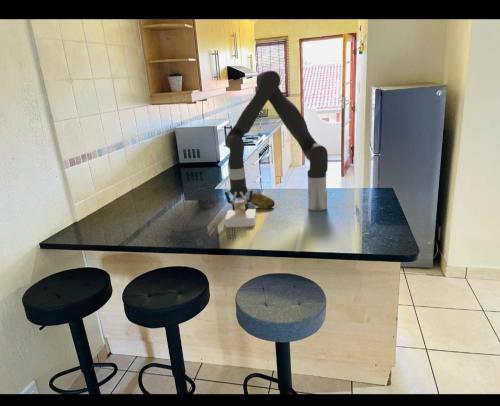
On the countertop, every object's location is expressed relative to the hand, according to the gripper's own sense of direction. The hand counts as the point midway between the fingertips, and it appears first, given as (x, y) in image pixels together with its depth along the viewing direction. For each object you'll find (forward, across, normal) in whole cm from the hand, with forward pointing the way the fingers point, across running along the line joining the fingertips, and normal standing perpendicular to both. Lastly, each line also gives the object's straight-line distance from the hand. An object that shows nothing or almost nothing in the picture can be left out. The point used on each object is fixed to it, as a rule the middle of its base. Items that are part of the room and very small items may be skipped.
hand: (240, 210), depth 183 cm
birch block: (0, 0, 0) cm, 0 cm away
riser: (+6, 0, 0) cm, 6 cm away
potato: (+6, -10, -19) cm, 22 cm away
